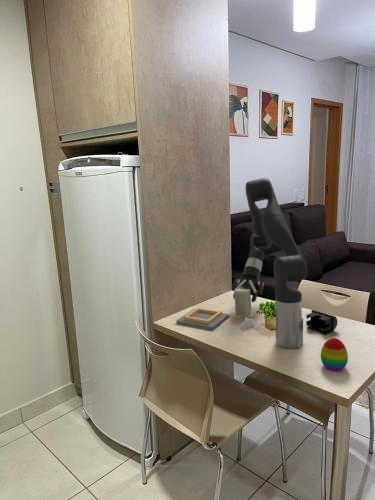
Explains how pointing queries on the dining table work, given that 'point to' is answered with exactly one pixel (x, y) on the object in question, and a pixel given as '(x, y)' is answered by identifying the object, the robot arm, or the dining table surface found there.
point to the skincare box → (243, 303)
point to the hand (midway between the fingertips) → (243, 300)
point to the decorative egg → (334, 355)
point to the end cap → (321, 322)
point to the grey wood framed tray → (203, 318)
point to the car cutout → (247, 323)
